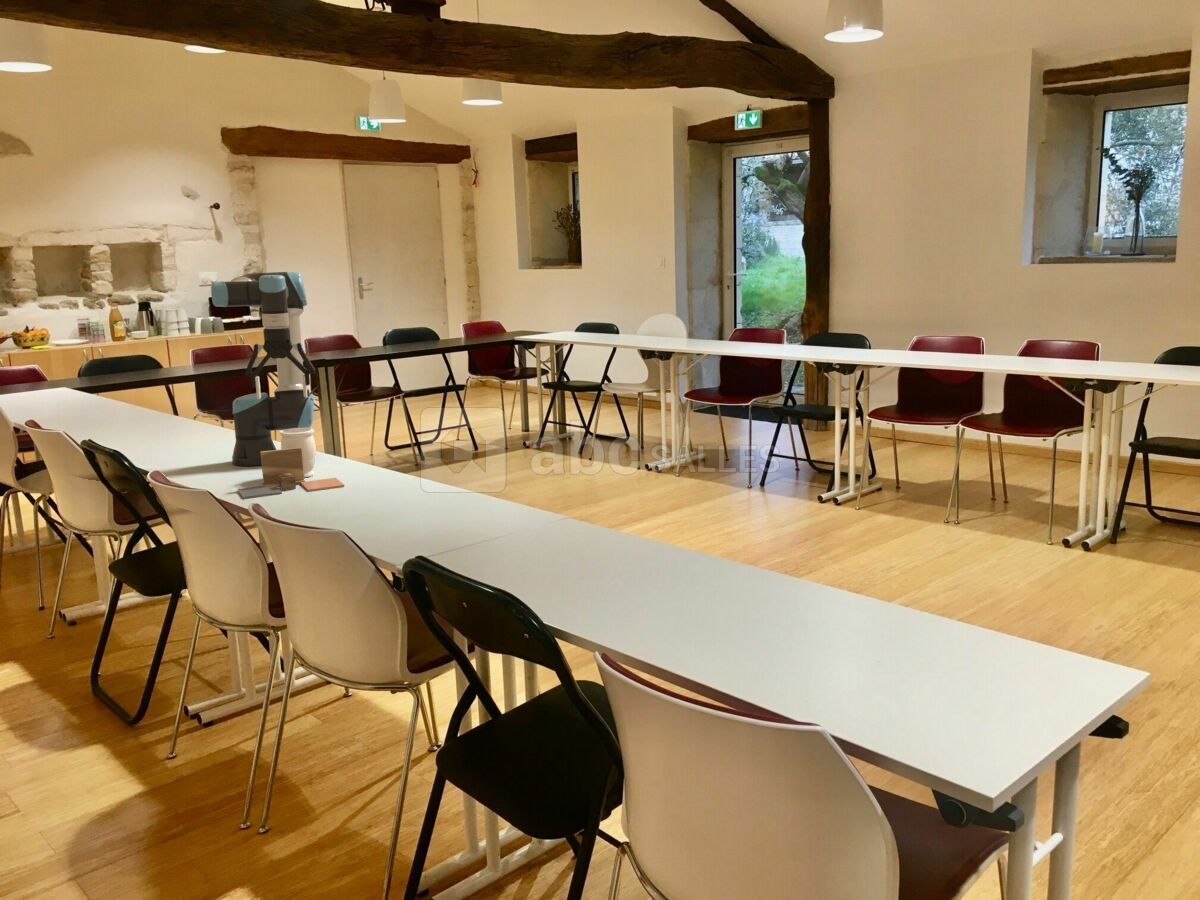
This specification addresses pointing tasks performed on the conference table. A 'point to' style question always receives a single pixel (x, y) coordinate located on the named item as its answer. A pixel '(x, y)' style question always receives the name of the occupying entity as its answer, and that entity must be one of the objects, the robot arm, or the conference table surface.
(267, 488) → the pad slate
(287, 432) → the jar
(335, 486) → the pad terracotta
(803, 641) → the conference table surface
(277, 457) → the oak screen
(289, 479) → the letter cube
